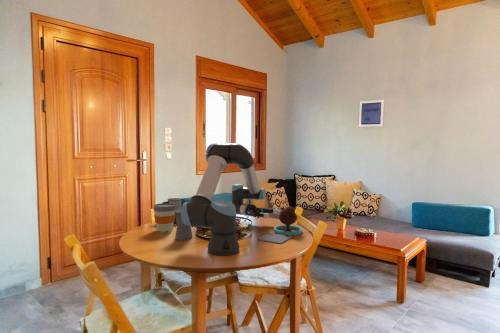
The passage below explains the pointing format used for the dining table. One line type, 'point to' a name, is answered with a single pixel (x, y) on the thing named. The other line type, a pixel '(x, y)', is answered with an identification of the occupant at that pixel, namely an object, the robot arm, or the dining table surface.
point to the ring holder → (288, 232)
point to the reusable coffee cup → (164, 216)
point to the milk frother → (177, 204)
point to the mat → (274, 238)
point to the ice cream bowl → (288, 217)
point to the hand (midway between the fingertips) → (275, 214)
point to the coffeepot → (182, 228)
